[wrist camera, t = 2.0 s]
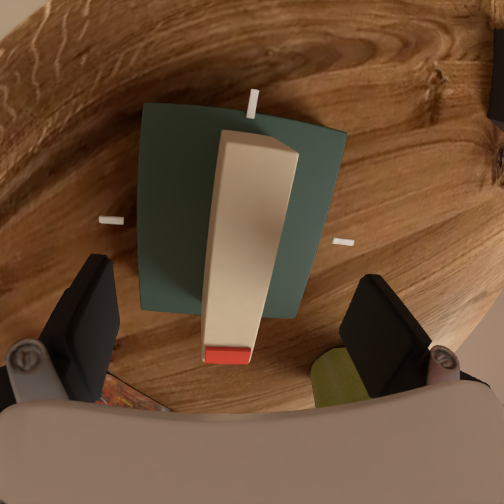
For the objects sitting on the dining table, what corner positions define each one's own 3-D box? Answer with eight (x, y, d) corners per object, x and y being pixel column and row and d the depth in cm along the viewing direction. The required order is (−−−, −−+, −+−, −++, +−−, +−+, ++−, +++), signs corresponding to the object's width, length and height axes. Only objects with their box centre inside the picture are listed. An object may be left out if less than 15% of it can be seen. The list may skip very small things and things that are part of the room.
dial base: (123, 84, 13) (103, 81, 10) (360, 118, 15) (387, 124, 13) (122, 291, 19) (111, 321, 17) (307, 303, 22) (319, 331, 19)
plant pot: (392, 345, 27) (427, 406, 20) (332, 394, 30) (354, 454, 23) (344, 318, 23) (385, 398, 16) (275, 377, 27) (292, 453, 19)
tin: (190, 419, 29) (192, 480, 22) (172, 424, 30) (172, 483, 23) (86, 355, 22) (65, 429, 15) (72, 364, 23) (51, 433, 16)
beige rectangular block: (221, 129, 12) (225, 142, 8) (272, 136, 13) (302, 154, 8) (201, 303, 17) (201, 365, 13) (240, 306, 17) (250, 366, 13)
